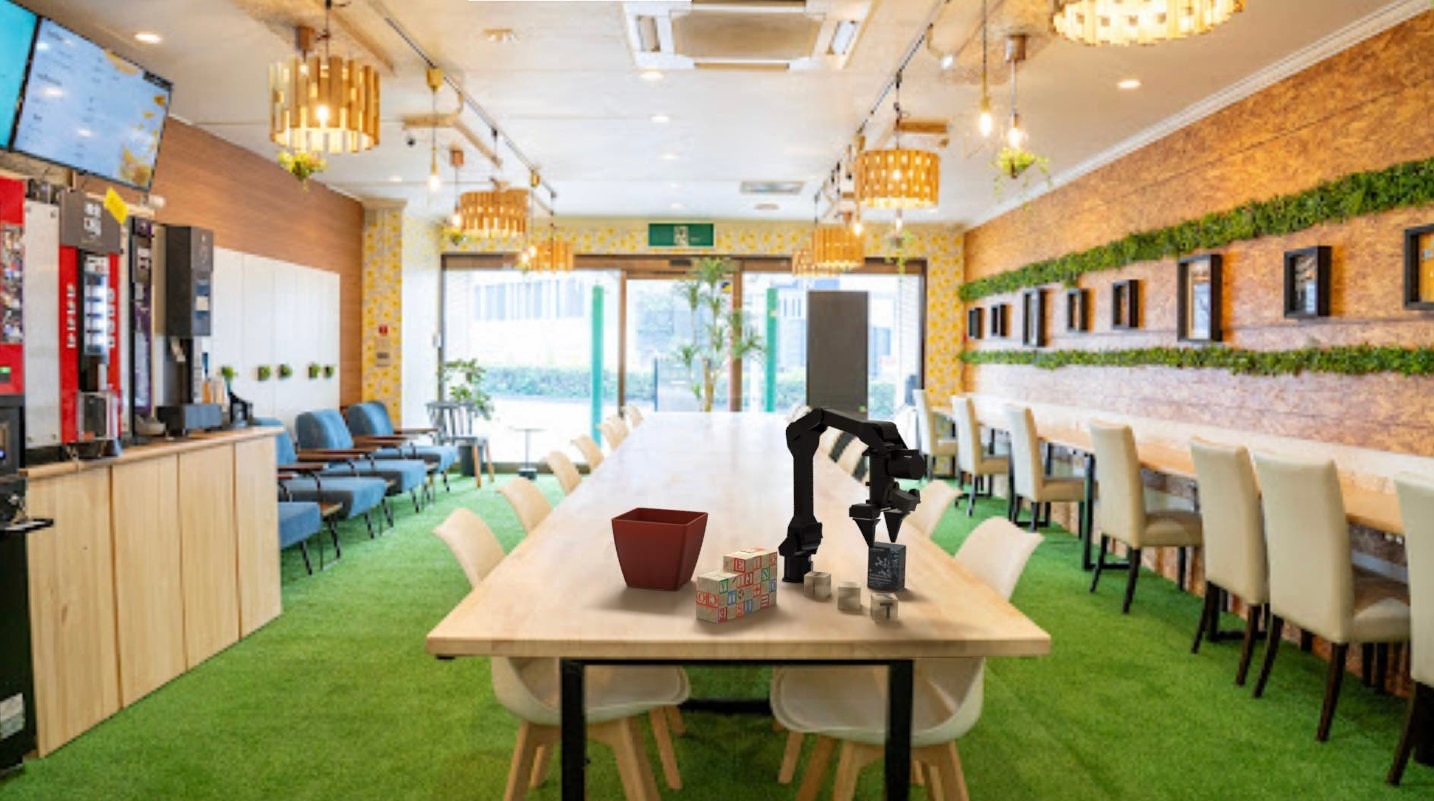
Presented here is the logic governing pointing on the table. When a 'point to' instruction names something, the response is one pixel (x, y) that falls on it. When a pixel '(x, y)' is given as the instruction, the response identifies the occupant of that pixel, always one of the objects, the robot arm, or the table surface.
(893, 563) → the box
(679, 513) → the plant pot
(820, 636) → the table surface
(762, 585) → the stack of blocks
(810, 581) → the numeral cube one
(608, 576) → the table surface
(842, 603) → the plain maple cube
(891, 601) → the letter t cube
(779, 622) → the table surface
